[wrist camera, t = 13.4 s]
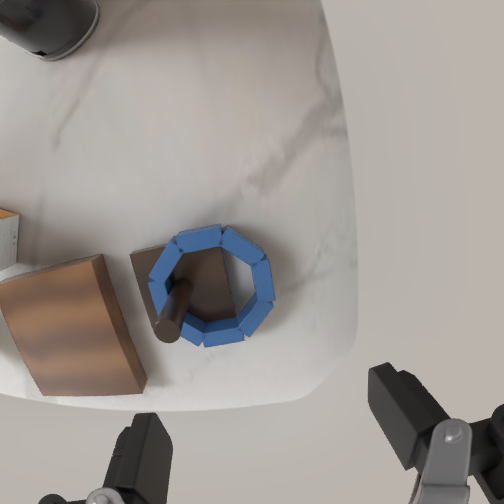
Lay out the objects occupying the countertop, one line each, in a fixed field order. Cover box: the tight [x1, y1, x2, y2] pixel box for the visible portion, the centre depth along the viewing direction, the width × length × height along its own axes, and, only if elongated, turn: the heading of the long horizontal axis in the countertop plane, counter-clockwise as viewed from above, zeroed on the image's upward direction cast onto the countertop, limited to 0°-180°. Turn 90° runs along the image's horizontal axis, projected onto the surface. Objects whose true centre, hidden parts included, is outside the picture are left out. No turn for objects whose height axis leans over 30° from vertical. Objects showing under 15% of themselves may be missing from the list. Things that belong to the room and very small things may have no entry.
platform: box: [0, 254, 147, 396], centre depth 29 cm, size 16×16×3 cm
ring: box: [148, 224, 275, 347], centre depth 28 cm, size 11×11×2 cm
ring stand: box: [130, 244, 236, 343], centre depth 26 cm, size 9×9×10 cm
